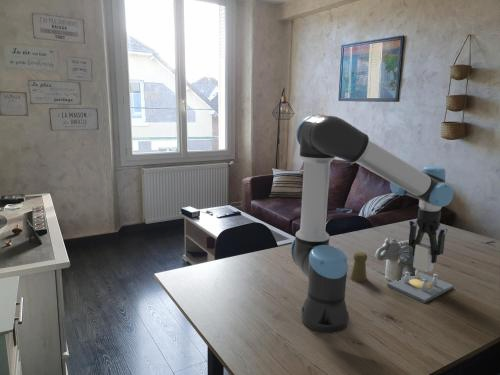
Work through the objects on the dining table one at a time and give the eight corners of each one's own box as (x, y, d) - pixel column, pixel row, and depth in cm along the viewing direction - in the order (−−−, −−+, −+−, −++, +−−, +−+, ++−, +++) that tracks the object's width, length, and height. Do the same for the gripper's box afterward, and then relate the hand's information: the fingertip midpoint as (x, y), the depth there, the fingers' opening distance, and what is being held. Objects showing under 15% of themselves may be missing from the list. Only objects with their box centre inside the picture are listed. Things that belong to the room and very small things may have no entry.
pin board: (424, 303, 131) (425, 288, 130) (387, 286, 143) (388, 272, 142) (452, 288, 143) (454, 274, 141) (416, 273, 155) (418, 260, 153)
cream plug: (425, 272, 138) (428, 248, 136) (413, 267, 142) (415, 244, 140) (432, 268, 141) (435, 245, 139) (420, 264, 145) (423, 241, 143)
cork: (349, 279, 148) (351, 254, 146) (352, 273, 153) (354, 248, 151) (364, 283, 145) (367, 257, 143) (367, 277, 151) (370, 251, 148)
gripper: (460, 212, 131) (452, 273, 136) (412, 201, 145) (407, 257, 151) (449, 216, 127) (441, 279, 132) (401, 204, 141) (396, 261, 146)
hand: (423, 267), depth 141 cm, fingers closed on cream plug, 5 cm apart
